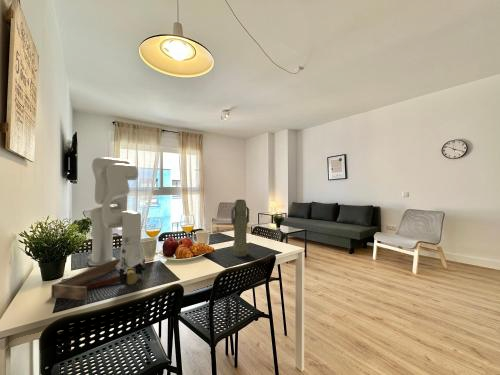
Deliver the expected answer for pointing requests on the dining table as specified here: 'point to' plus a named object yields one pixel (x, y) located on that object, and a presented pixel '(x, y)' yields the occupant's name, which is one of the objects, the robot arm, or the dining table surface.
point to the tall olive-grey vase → (240, 227)
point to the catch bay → (82, 282)
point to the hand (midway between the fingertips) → (131, 277)
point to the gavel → (114, 280)
